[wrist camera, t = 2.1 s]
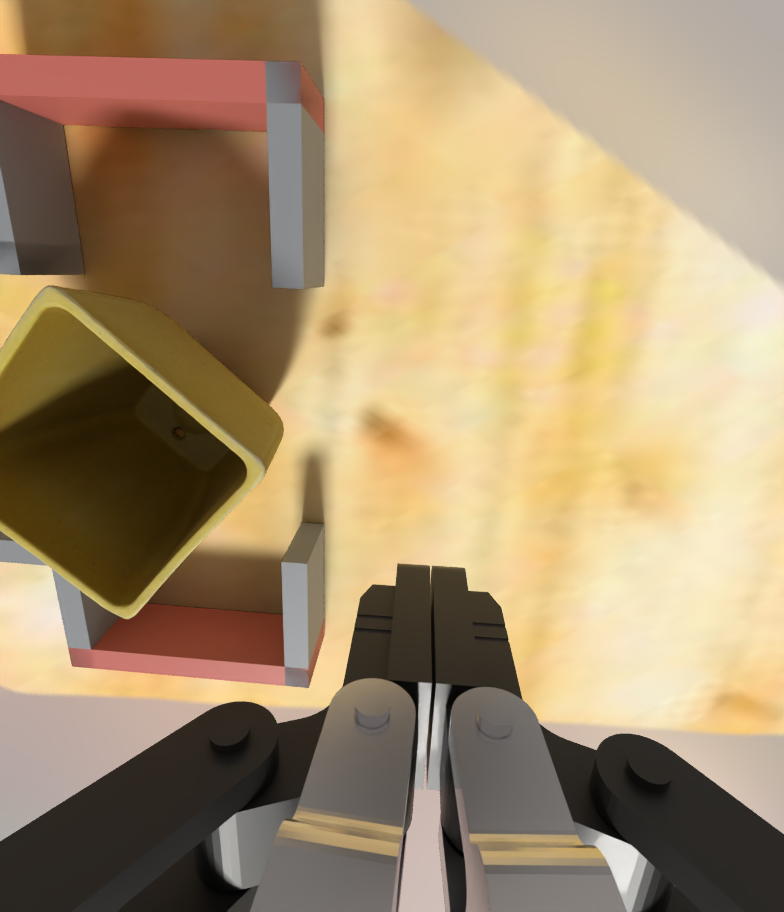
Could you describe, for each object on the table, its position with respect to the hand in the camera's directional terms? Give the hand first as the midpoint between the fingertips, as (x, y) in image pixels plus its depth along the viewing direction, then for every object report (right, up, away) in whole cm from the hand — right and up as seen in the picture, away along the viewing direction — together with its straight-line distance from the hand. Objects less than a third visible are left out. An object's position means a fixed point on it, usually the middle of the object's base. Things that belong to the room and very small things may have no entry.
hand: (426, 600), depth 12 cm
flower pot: (-10, +6, +14) cm, 19 cm away
